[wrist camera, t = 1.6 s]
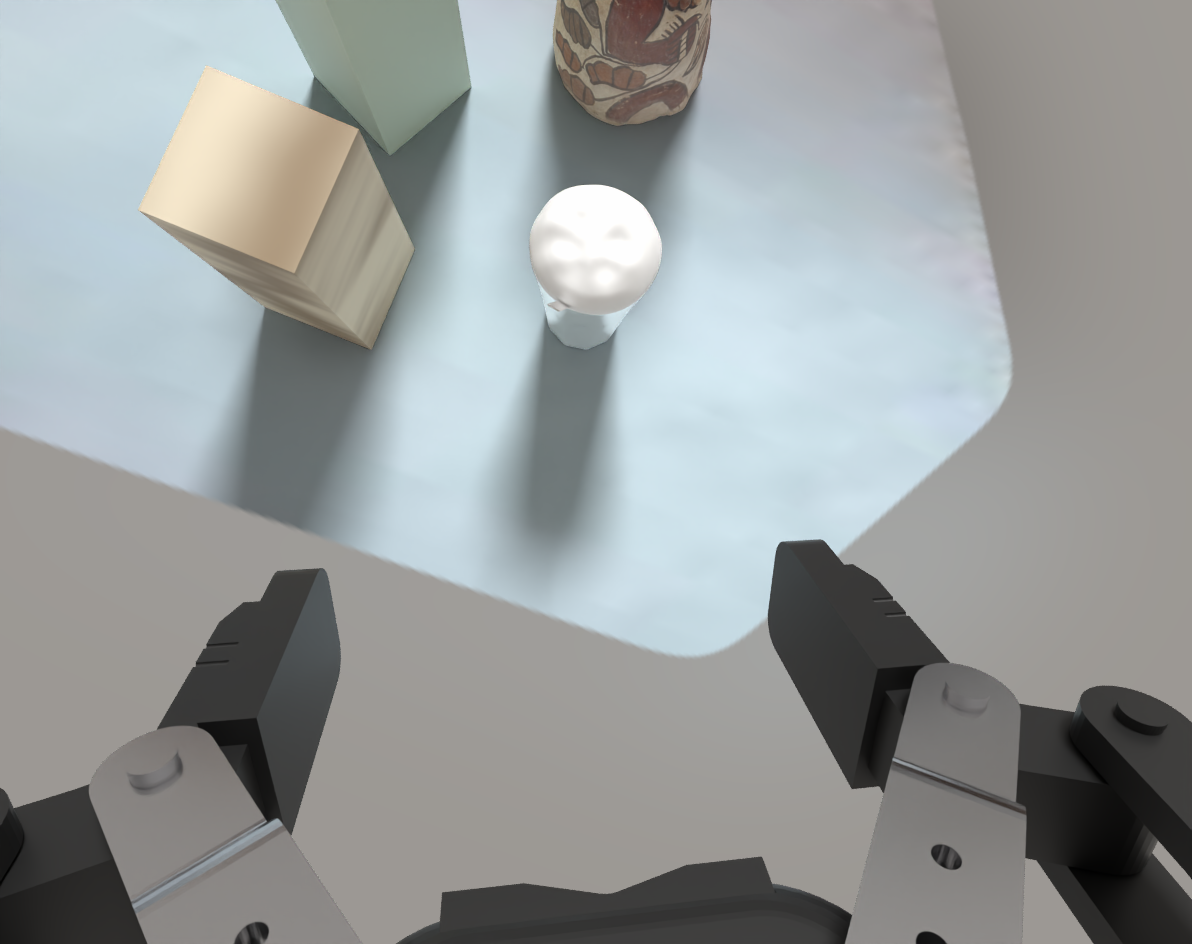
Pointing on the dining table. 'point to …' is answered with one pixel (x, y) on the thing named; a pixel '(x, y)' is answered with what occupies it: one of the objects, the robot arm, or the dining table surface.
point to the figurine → (631, 55)
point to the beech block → (282, 207)
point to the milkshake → (592, 261)
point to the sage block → (384, 59)
